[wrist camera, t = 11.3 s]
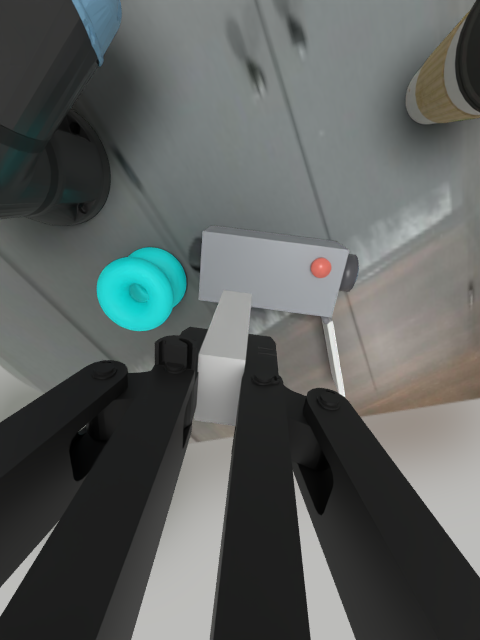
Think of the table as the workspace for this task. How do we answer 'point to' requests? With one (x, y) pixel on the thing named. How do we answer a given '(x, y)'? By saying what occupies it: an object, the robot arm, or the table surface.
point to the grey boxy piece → (275, 269)
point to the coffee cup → (449, 77)
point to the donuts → (141, 288)
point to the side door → (333, 353)
